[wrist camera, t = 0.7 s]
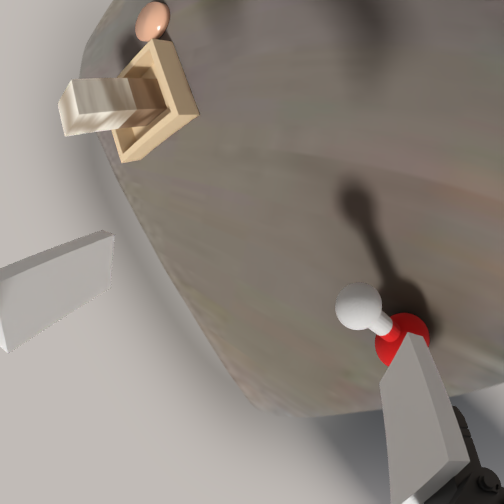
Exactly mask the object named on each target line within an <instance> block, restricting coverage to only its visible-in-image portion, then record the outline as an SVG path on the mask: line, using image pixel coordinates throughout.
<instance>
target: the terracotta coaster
mask: <svg viewBox="0 0 504 504" xmlns="http://www.w3.org/2000/svg"><path fill="white" fill-rule="evenodd" d="M169 19H170V11H169V8H168V6H167V5H166V4H164V3H160V2H151V3H149V4H147V5H146V6H145V7H144V8H143V9H142V10H141V12H140V14H139V16H138V18H137V21H136V26H135V31H136V35H137V37H138V39H139V40H141V41H147V42H149V41H150V40H151V39H159V38H160V37H161V36H162V35H163V33H164V32H165V30H166V28H167V26H168V23H169Z"/></svg>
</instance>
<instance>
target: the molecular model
mask: <svg viewBox="0 0 504 504" xmlns="http://www.w3.org/2000/svg"><path fill="white" fill-rule="evenodd" d="M335 309H336V314H337V317H338V319H339V320H340V322H341V323H342V324H343V325H345V326H346V327H348V328H350V329H354V330H362V329H366V328H369V329H370V330H372V331H373V332H375V333H376V338H375V348H376V352H377V355H378V357H379V358H380V360H381V361H382V362H383V363H384V364H385V365H387V366H390V364H391V362H392V360H393V359H394V357H395V355H396V353H397V351H398V349H399V348H400V346H401V344H402V342H403V340H404V338H405V336H406V334H407V332H409V333H413V334H416V335H420V336H423V338H424V340H425V342H426V344H427V347H429V341H430V337H429V331H428V329H427V326H426V325H425V323H424V322H423V321H422V320H421V319H420V318H419V317H417V316H416V315H413V314H410V313H398V314H395V315H392V316H390V317H389V316H388V315H387V314H385V313H384V312H383V311H382V300H381V297H380V295H379V293H378V291H377V290H376V289H375V288H374V287H373V286H371V285H369V284H367V283H363V282H356V283H352V284H349V285H347V286H346V287H345V288H343V289H342V290H341V292H340V293H339V295H338V297H337V299H336V304H335Z"/></svg>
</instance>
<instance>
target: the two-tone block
mask: <svg viewBox="0 0 504 504" xmlns="http://www.w3.org/2000/svg"><path fill="white" fill-rule="evenodd" d="M58 107H59V112H60V117H61V121H62V126H63V130H64V135H65V136H71V135H77V134H84V133H90V132H97V131H104V130H112V129H121V128H130V127H140V126H148V125H149V124H150V123H151V122H152V121H153V120H154V119H155V118H157V117H158V116H159V115H160V114H161V113H162V112H164V111H165V110H166V109H167V106H166V103H165V100H164V97H163V95H162V92H161V89H160V86H159V83H158V80H157V79H149V78H91V79H73V80H71V81H70V83H69V85H68V86H67V88H66V90H65V92H64V93H63V95H62V97H61V98H60V100H59V102H58Z"/></svg>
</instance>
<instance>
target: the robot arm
mask: <svg viewBox="0 0 504 504" xmlns="http://www.w3.org/2000/svg"><path fill="white" fill-rule="evenodd" d="M114 238H115V235H114V234H112V233H109V232H106V231H104V230H101V231H99V232H95V233H92V234H89V235H87V236H84V237H81V238H78V239H75V240H73V241H70V242H67V243H64V244H62V245H60V246H56V247H54V248H51V249H48V250H46V251H43V252H40V253H38V254H36V255H33V256H30V257H28V258H25V259H23V260H20V261H18V262H15V263H13V264H10V265H8V266H6V267H3V268H0V347H1V348H2V349H4V350H5V351H6V352H7V353H10V352H12V351H13V350H15V349H16V348H18V347H19V346H21V345H22V344H23V343H25V342H27V341H28V340H29V339H31V338H33V337H34V336H36V335H37V334H39V333H40V332H42V331H43V330H45V329H47V328H48V327H50V326H51V325H53V324H54V323H56V322H57V321H59V320H61V319H62V318H64V317H65V316H67V315H68V314H70V313H72V312H73V311H75V310H76V309H78V308H80V307H81V306H83V305H84V304H86V303H88V302H89V301H91V300H92V299H94V298H96V297H97V296H99V295H100V294H102V293H104V292H105V291H107V290H109V289H110V288H111V272H112V260H113V248H114ZM379 385H380V392H381V399H382V407H383V415H384V422H385V431H386V441H387V451H388V462H389V478H390V496H391V504H423V503H424V504H504V488H503V487H501V483H500V480H499V478H498V477H497V475H496V474H495V473H494V472H493V471H492V470H490V469H488V468H483V467H481V465H480V461H479V459H478V455H477V452H476V449H475V446H474V444H473V440H472V438H470V437H471V435H470V432H469V430H468V429H467V428H468V426H467V423H466V421H465V418H464V416H463V415H462V414H461V412H460V411H459V409H458V408H457V407H455V406H452V405H451V403H450V400H449V397H448V395H447V392H446V389H445V387H444V384H443V382H442V379H441V377H440V374H439V372H438V370H437V367H436V365H435V363H434V360H433V358H432V356H431V353H430V351H429V349H428V347H427V344H426V342H425V340H424V338H423V336H420V335H416V334H413V333H409V332H407V334H406V336H405V338H404V340H403V342H402V344H401V346H400V348H399V349H398V351H397V353H396V355H395V357H394V359H393V360H392V362H391V364H390V366H389V367H388V369H387V371H386V373H385V374H384V376H383V378H382V379H381V381H380V383H379Z"/></svg>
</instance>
